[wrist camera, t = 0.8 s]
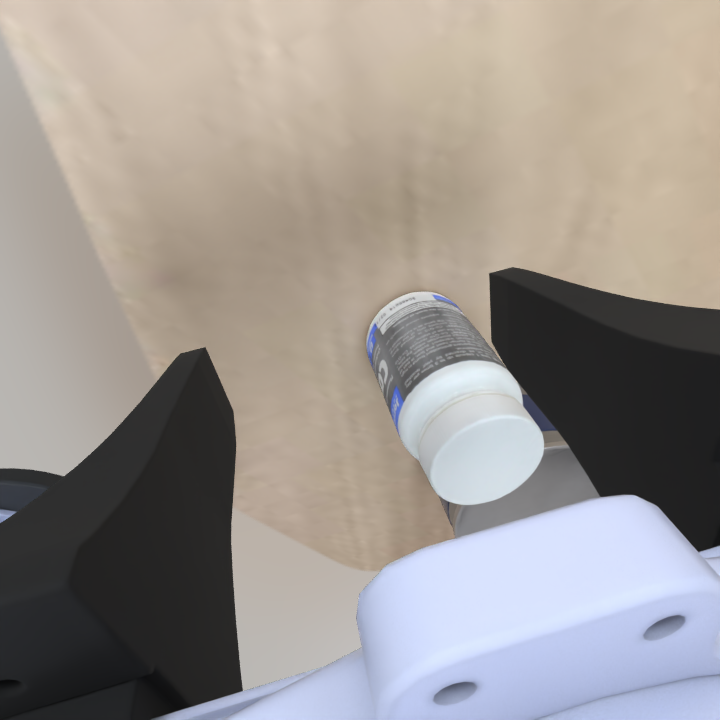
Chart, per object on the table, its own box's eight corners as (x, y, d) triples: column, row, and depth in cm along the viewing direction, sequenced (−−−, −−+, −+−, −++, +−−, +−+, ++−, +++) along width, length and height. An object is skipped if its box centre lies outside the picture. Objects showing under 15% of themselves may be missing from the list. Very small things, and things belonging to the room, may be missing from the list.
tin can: (503, 502, 31) (543, 573, 27) (395, 474, 28) (422, 550, 23) (589, 405, 28) (650, 469, 24) (479, 360, 24) (527, 425, 20)
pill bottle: (344, 328, 22) (391, 461, 15) (435, 268, 21) (529, 379, 14) (395, 393, 24) (455, 533, 17) (478, 343, 24) (574, 467, 17)
